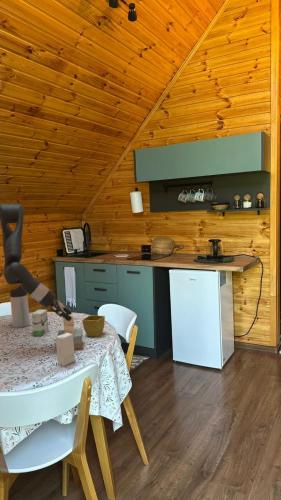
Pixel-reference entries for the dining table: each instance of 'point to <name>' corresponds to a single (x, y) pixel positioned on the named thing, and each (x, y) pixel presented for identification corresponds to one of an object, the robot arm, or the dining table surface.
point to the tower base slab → (78, 346)
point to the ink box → (40, 322)
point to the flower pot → (93, 325)
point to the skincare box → (65, 349)
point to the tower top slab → (74, 335)
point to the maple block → (69, 325)
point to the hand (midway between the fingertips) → (70, 317)
